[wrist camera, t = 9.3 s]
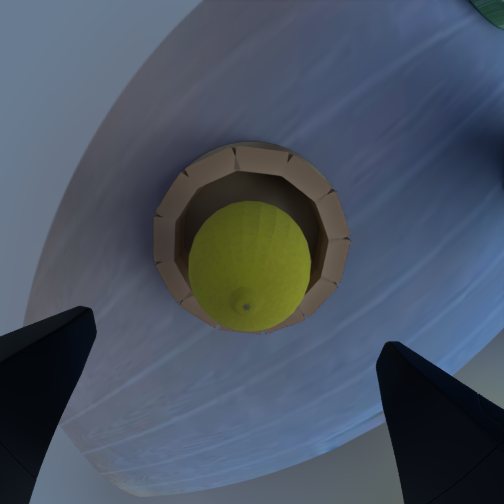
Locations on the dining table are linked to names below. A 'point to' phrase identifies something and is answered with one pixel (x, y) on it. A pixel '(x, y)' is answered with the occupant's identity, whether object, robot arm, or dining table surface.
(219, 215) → the lemon
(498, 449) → the robot arm
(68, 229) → the dining table surface
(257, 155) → the wooden bowl
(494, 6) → the ramekin
